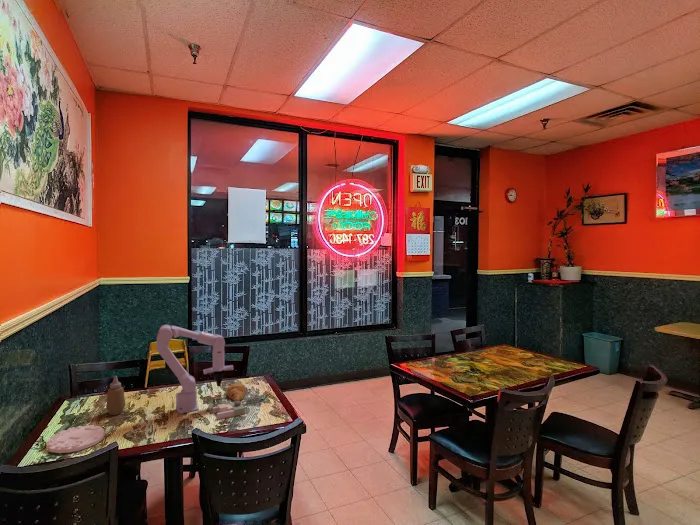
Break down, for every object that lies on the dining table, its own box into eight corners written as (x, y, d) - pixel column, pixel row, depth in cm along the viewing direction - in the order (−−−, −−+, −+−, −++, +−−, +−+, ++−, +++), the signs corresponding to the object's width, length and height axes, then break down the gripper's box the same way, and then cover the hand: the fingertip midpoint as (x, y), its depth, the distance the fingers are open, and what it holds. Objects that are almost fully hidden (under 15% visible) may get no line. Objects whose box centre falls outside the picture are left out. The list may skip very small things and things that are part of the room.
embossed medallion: (68, 459, 154) (68, 452, 154) (34, 449, 161) (34, 441, 161) (115, 436, 172) (115, 429, 172) (83, 427, 179) (83, 421, 179)
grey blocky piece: (217, 419, 188) (217, 410, 188) (212, 412, 197) (212, 402, 197) (245, 413, 195) (245, 404, 195) (238, 406, 204) (238, 397, 203)
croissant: (243, 409, 210) (250, 395, 210) (225, 402, 206) (232, 388, 207) (239, 393, 230) (246, 381, 230) (223, 387, 226) (230, 374, 227)
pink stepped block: (220, 417, 192) (220, 408, 192) (217, 413, 196) (217, 404, 196) (232, 414, 195) (232, 405, 195) (230, 410, 199) (230, 402, 199)
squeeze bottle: (116, 417, 190) (116, 379, 189) (102, 415, 192) (101, 378, 191) (129, 410, 198) (128, 374, 197) (115, 408, 200) (114, 373, 199)
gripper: (205, 363, 198) (205, 390, 198) (235, 359, 206) (235, 385, 206) (202, 359, 204) (202, 386, 204) (231, 355, 212) (231, 381, 212)
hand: (218, 385), depth 206 cm, fingers closed
